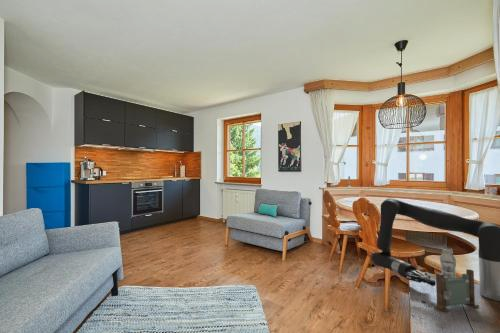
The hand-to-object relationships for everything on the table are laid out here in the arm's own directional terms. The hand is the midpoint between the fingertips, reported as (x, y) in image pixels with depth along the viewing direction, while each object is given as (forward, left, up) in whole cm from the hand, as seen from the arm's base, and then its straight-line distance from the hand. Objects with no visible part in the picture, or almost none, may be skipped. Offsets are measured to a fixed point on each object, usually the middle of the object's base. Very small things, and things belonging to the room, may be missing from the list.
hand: (434, 283), depth 114 cm
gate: (-2, +8, -5) cm, 10 cm away
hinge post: (-10, +8, -7) cm, 15 cm away
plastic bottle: (-15, -6, -7) cm, 18 cm away
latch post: (+5, +8, -7) cm, 12 cm away
